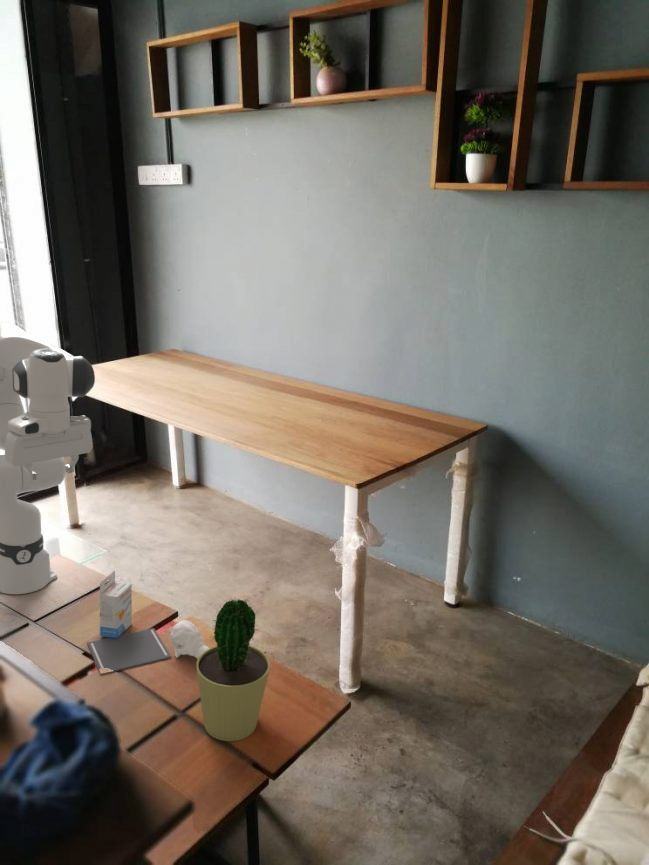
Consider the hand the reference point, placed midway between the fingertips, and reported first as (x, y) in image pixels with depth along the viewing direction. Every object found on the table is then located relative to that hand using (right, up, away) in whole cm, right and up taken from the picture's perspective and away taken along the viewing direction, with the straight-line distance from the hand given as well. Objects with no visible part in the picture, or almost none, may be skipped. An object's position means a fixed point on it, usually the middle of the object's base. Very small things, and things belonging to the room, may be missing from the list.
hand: (51, 476), depth 165 cm
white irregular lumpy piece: (+33, -46, +7) cm, 57 cm away
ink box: (+11, -41, +15) cm, 45 cm away
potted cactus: (+45, -53, -15) cm, 71 cm away
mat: (+16, -44, +7) cm, 47 cm away
